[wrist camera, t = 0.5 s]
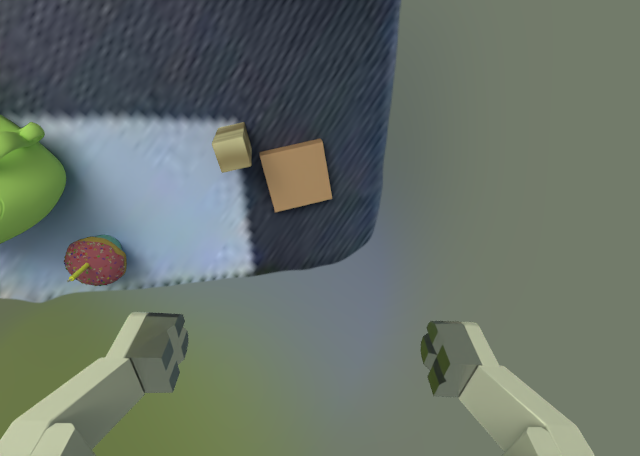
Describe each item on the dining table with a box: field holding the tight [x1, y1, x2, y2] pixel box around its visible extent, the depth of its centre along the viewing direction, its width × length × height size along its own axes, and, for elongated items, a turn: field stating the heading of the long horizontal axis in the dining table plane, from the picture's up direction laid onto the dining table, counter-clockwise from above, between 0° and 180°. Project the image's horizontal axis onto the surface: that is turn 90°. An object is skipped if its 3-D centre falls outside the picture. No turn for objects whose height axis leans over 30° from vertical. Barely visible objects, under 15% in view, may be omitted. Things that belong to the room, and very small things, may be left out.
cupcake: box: [64, 235, 127, 286], centre depth 51 cm, size 9×8×12 cm
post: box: [212, 122, 252, 173], centre depth 48 cm, size 4×4×9 cm
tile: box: [260, 139, 332, 212], centre depth 55 cm, size 10×10×2 cm
